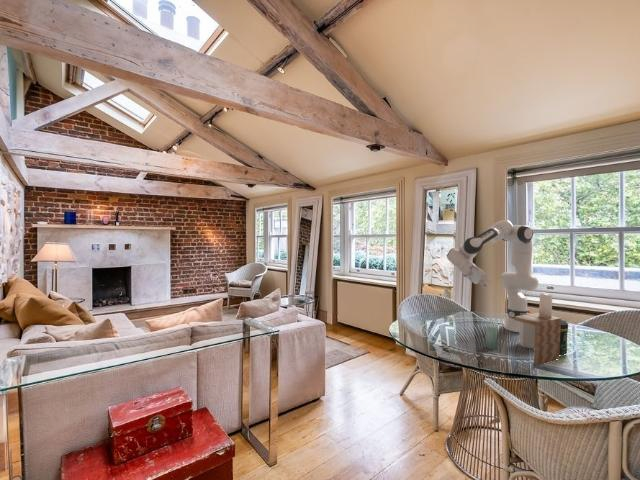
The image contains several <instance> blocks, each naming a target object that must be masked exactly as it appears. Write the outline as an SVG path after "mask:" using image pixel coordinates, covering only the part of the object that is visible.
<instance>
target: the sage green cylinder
mask: <svg viewBox="0 0 640 480" xmlns="http://www.w3.org/2000/svg"><path fill="white" fill-rule="evenodd" d="M497 339H498V327H497V326H496V325H495V326H493V325H487V326H486V331H485V348H486V349H489V350H493V351H494V350H497V341H498V340H497Z"/></svg>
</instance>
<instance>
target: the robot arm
mask: <svg viewBox="0 0 640 480" xmlns="http://www.w3.org/2000/svg"><path fill="white" fill-rule="evenodd" d="M533 237H534V232H533V229H532V228H531V226H530V225H529V226H528V225H525V224H524V225H520V224H514V225H513V223H512V222H511V221H510V220H508V219H501V220H499V221H497V222H495V223H493V224H491V226H489V227H488V228H486V229H485V231H483V232H482V233H480V234H478V235H477V236H472V237H468V238H466V239H465V241H464V243H463V245H462V246H458V247H452V248H451V249H450V250H448V252H447V254H446V259H447V260H448V261H449V263H451V264H452V265H453V266H454V267H456V268H457V269H458V270H459V271H460V272H461V274H462V276H463V277H464V278H467V279H468V280H469V281H471V282H472V283H473V284H475V285H480V286H482V287H483V288H486V287H487V285H489V284H490V283H491V281H490V280H489V278H487V273H486V272H485V271H484V270H483V269H482V268H480V267H479V266H477V265H476V264H475V263H474V262H472V260H473V259H474V258H476V256H477V254H478V253H479V252H480V251H481V250H482V248H483V246H484V245H485V244H487V243H488V242H489V243H491V244H497V243H498V242H500V241H505V242H513V243H514V246H513V250H512V257H511V265H512V266H514V267H515V270H516V272H515V271H514V272H513V271H505V272H502V274H501V275H500V278H499V280H500V283H501V285H503V288H504V289H505V291H506V294H507V309H506V314H505V319H504V323H503V325H502V327H504V329H505V330H507V331H510V332H515V333H519V334H520V321H516V320H514V319H515V316H520V315H526V314H527V313H529V314H532V311H531V310H530V309H528V298H527V297H526V296H525V295H524V293H523V291H525V292H533V291H535V290H537V289H538V287H539V280H538V278H537V277H536V276H535V274H534V272H533V270H532V256H533V240H532V239H533ZM482 280H483V281H484V282H485V283H484V282H483V281H482Z"/></svg>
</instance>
